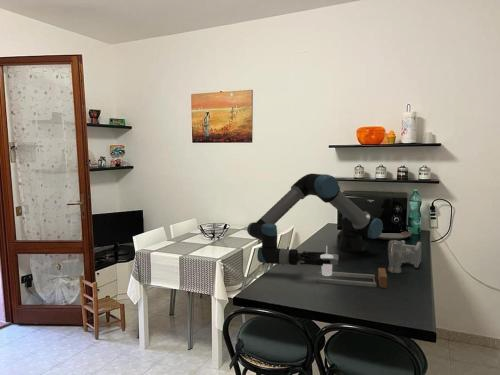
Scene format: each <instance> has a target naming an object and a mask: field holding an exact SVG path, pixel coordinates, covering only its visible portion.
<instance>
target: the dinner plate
mask: <svg viewBox="0 0 500 375" xmlns="http://www.w3.org/2000/svg"><path fill="white" fill-rule="evenodd" d="M403 231H404V230H403ZM410 236H411V233H410V232H408V231H404V232H401V233H381V234H380V236H379V237H377V238H376V239H379V240H384V241H391V240H396V241H401V240H403V239H407V238H408V237H410Z"/></svg>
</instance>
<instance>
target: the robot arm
mask: <svg viewBox="0 0 500 375" xmlns="http://www.w3.org/2000/svg"><path fill="white" fill-rule="evenodd" d="M308 196H316V197H317V198H319V199H320V200H321V201H322V202H324V203H329V204H330V205H331V206H332V207H334V208H335V209H336V210H337V211H338V212H339V213H340V214H342V215H341V238H340V240H339V244H338V250H339V251H341V252H345V253H352V254H353V253H362V252H364V251H365V244H364V241H363V238H362V237H365V238H369V239H372V240H373V239H378V238H377V237H379V236H380V234H381V233H382V230H383V229H384V223H383V221H382V220H381V219H380V218H378V217H374V216H372V215H371V214H370V213H369V212H368V211H365V210H364V211H363V210H362V209H361V208H360V207H359V206H358V205H357V204H355V203H354V202H353V201H352V200H351V199H350V198H349V197H347V196H346V194H344V193H343V192H342V191H341V187H340V185H339V182H338V180H337V178H336V177H335V176H333V175H330V174H328V173H327V174H326V173H322V174H321V173H307V174H305V175H304V176H302V177H300V178H299V179H298V180H296V181H295V182H294V183H293V184H292V185H291V186H290V190H288V192H286V194H284V195H283V196H282V197H281V198H280V199H279V200H278V201H277V202H276V203H275V204H274V205H273V206H272V207H271V208H270V209H268V211H267V212H265V213H264V214H263V215H262V216H261V217H260V218H259V219H257V220H256V221H255V222H251V223H249V224H248V225H247V229H246V232H247V234H248V235H249V236H251V237H252V238H254V239H257V240H259V241H261V247H259V248H258V249H257V255H256V258H257V261H258V262H259V263H263V264H275V265H278V264H279V265H282V266H284V265H290V266H298V262H299V264H300V265H308V266H309V265H310V266H319V267H320V266H323V264H330V265H332V266H333V265H334V266H337V265H339V263H338V262H339V254H335V253H333V254H332V253H331V254H330V253H328V254H329V255H333V258H323V259H321V258H320V255H323V254H325V251H305V250H303V252H299V251H298V249H297V248H290V249H289V248H278V228H277V225H276V224H277V223H278V221H279V220H281V219H282V218H283V217H284V216H285V215H286V214H287V213H288V212H289V211H290V210H291V209H292V208H293V207H294V206H295V205H296V204H297V203H298V202H299V201H301V200H304V199H305V198H306V197H308Z"/></svg>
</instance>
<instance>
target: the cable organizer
mask: <svg viewBox="0 0 500 375" xmlns="http://www.w3.org/2000/svg"><path fill="white" fill-rule="evenodd" d="M400 241H401V242H403V255H402V260H401V265H402V264H403V263H404V264H406V263H409V264H411V265H413V266H414V268H415V269H418V268H419V266H420V263H421V261H422V241H417V242H416V245H414V244H412V245H411V244H406V241H405V240H403V239H400Z"/></svg>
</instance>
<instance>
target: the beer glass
mask: <svg viewBox="0 0 500 375" xmlns="http://www.w3.org/2000/svg"><path fill="white" fill-rule="evenodd" d="M387 241H388V242H387V243H388V244H387V256H388V262H389V264H388V269H387V271H388V272H389V273H391V274H400V273H402V264H401V260H402V255H403V242H401V240H387Z"/></svg>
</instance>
